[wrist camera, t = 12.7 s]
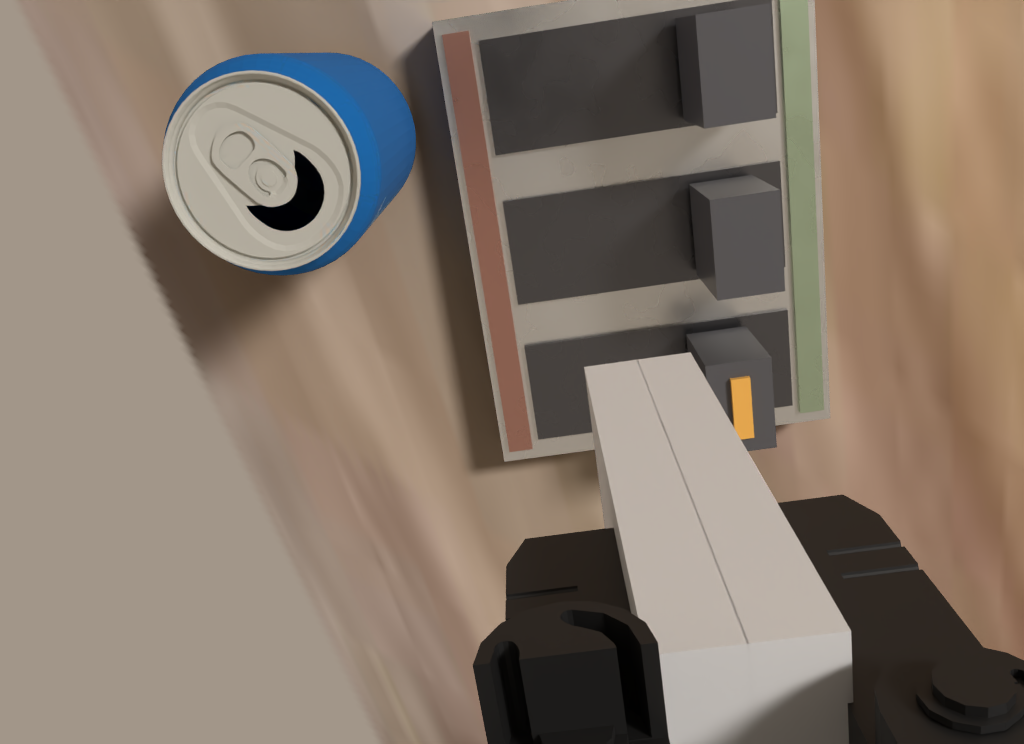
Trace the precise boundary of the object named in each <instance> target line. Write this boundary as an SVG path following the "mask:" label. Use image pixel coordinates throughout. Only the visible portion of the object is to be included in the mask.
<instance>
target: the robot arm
mask: <svg viewBox="0 0 1024 744" xmlns="http://www.w3.org/2000/svg"><path fill="white" fill-rule="evenodd" d="M584 370H585V378H586V385H587V393H588V401H589V409H590V416H591V424H592V432H593V440H594V447H595V455H596V463H597V471H598V478H599V486H600V494H601V502H602V509H603V517H604V525H605V529H599V530H591V531H583V532H575V533H568V534H560V535H552V536H544V537H537V538H529V539H525V540H524V542H523V543H522V544H521V546H520V547H519V549H518V550H517V551H516V553H515V554H514V556H513V557H512V559H511V560H510V561H509V563H508V564H507V566H506V599H507V600H506V621H505V622H503V623H501V624H500V625H499V626H498V627H497V628H496V629H495V630H494V631H493V632H492V633H491V634H490V635H489V636H488V637H487V638H486V639H485V640H484V641H483V642H482V643H481V644H480V647H479V650H478V653H477V655H476V658H475V661H474V664H473V669H474V674H475V679H476V684H477V690H478V695H479V700H480V705H481V710H482V716H483V721H484V726H485V731H486V736H487V742H488V744H1024V660H1021V659H1019V658H1017V657H1015V656H1013V655H1010V654H1008V653H1005V652H1001V651H996V650H992V649H987V648H983V647H982V645H981V644H980V643H979V641H978V640H977V639H976V638H975V636H974V635H973V634H972V632H971V631H970V630H969V629H968V627H967V626H966V625H965V623H964V622H963V621H962V620H961V618H960V617H959V616H958V614H957V613H956V612H955V611H954V609H953V608H952V607H951V606H950V604H949V603H948V602H947V600H946V599H945V598H944V597H943V595H942V594H941V593H940V591H939V590H938V589H937V588H936V586H935V585H934V584H933V582H932V581H931V580H930V579H929V577H928V576H927V575H926V574H925V572H924V571H923V570H919V568H918V563H917V562H916V561H915V559H914V558H913V557H912V556H911V554H910V553H909V552H908V550H907V549H906V548H905V547H901V543H900V540H899V539H898V538H897V536H896V535H895V534H894V533H893V531H892V530H891V529H890V527H889V526H888V525H887V524H886V522H885V521H884V520H883V518H882V517H881V516H880V515H879V514H877V513H876V512H874V511H872V510H870V509H868V508H866V507H865V506H863V505H861V504H859V503H857V502H855V501H854V500H852V499H850V498H848V497H846V496H844V495H836V496H829V497H821V498H813V499H805V500H798V501H790V502H782V503H777V501H776V500H775V498H774V496H773V495H772V493H771V491H770V489H769V488H768V486H767V484H766V482H765V481H764V479H763V477H762V475H761V474H760V472H759V470H758V468H757V467H756V465H755V463H754V462H753V460H752V458H751V456H750V455H749V453H748V451H747V449H746V448H745V446H744V444H743V442H742V441H741V439H740V437H739V436H738V434H737V432H736V430H735V429H734V427H733V425H732V423H731V422H730V420H729V418H728V416H727V415H726V413H725V411H724V409H723V408H722V406H721V404H720V403H719V401H718V399H717V397H716V396H715V394H714V392H713V390H712V389H711V387H710V385H709V383H708V382H707V380H706V378H705V377H704V375H703V373H702V371H701V370H700V368H699V366H698V364H697V363H696V361H695V359H694V357H693V356H692V354H691V352H689V353H682V354H674V355H667V356H660V357H653V358H645V359H638V360H631V361H624V362H616V363H609V364H602V365H595V366H587V367H584Z"/></svg>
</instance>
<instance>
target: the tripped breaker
mask: <svg viewBox="0 0 1024 744" xmlns="http://www.w3.org/2000/svg"><path fill="white" fill-rule="evenodd" d="M686 337H687V348H688V353H689V352H691V354H692V356H693V357H694V359H695V361H696V363H697V364H698V366H699V368H700V370H701V371H702V373H703V375H704V377H705V378H706V380H707V382H708V383H709V385H710V387H711V389H712V390H713V392H714V394H715V396H716V397H717V399H718V401H719V403H720V404H721V406H722V408H723V409H724V411H725V413H726V415H727V416H728V418H729V420H730V422H731V423H732V425H733V427H734V429H735V430H736V432H737V434H738V436H739V437H740V439H741V441H742V442H743V444H744V446H745V448H746V449H747V451H752V450H760V449H767V448H775V447H777V444H776V427H775V409H774V392H773V375H772V358H771V356H770V355H769V354H768V352H767V351H766V350H765V349H764V348H763V346H762V345H761V344H760V343H759V342H758V340H757V339H756V338H755V337H754V336H753V334H752V333H751V332H750V331H749V330H748V328H747V327H746V326H743V327H736V328H728V329H721V330H714V331H707V332H700V333H692V334H686Z"/></svg>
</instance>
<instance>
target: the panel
mask: <svg viewBox="0 0 1024 744" xmlns="http://www.w3.org/2000/svg"><path fill="white" fill-rule="evenodd" d="M767 3H770V8H771V27H772V46H773V66H774V85H775V104H776V118H772V119H766V120H759V121H752V122H746V123H739V124H732V125H726V126H719V127H712V128H706V129H704V128H701V127H699V126H697V125H694V124H692V123H690V122H687V121H685V120H684V117H683V105H682V93H681V81H680V70H679V58H678V46H677V34H676V22H675V18H681V17H686V16H691V15H697V14H703V13H710V12H716V11H722V10H729V9H735V8H742V7H748V6H754V5H761V4H767ZM432 25H433V31H434V37H435V43H436V50H437V56H438V62H439V68H440V74H441V80H442V86H443V92H444V98H445V104H446V110H447V116H448V122H449V128H450V134H451V141H452V147H453V153H454V159H455V165H456V171H457V177H458V183H459V189H460V195H461V201H462V207H463V213H464V219H465V225H466V232H467V238H468V244H469V250H470V256H471V262H472V268H473V274H474V280H475V286H476V292H477V298H478V304H479V310H480V316H481V323H482V329H483V335H484V341H485V347H486V353H487V359H488V365H489V371H490V377H491V383H492V389H493V395H494V401H495V407H496V414H497V420H498V426H499V432H500V438H501V444H502V450H503V456H504V462H506V461H513V460H521V459H528V458H536V457H543V456H551V455H558V454H566V453H573V452H581V451H588V450H595V447H594V440H593V432H592V424H591V416H590V409H589V401H588V393H587V385H586V378H585V370H584V367H587V366H595V365H602V364H609V363H616V362H624V361H631V360H638V359H645V358H653V357H660V356H667V355H674V354H682V353H688V348H687V337H686V334H692V333H700V332H707V331H714V330H721V329H728V328H736V327H743V326H746V327H747V328H748V330H749V331H750V332H751V333H752V334H753V336H754V337H755V338H756V339H757V340H758V342H759V343H760V344H761V345H762V346H763V348H764V349H765V350H766V351H767V352H768V354H769V355H770V356H771V358H772V375H773V392H774V409H775V426H776V425H783V424H791V423H798V422H806V421H813V420H821V419H828V418H830V399H829V373H828V346H827V319H826V293H825V266H824V239H823V213H822V186H821V159H820V133H819V106H818V79H817V53H816V26H815V0H567V1H561V2H554V3H548V4H542V5H536V6H529V7H523V8H517V9H510V10H504V11H498V12H491V13H485V14H479V15H472V16H466V17H460V18H454V19H447V20H441V21H435V22H432ZM747 175H753V176H755V177H757V178H759V179H761V180H763V181H764V182H766V183H768V184H770V185H772V186H774V187H776V188H778V189H779V190H780V200H781V219H782V238H783V257H784V276H785V291H783V292H776V293H769V294H762V295H755V296H748V297H740V298H733V299H726V300H719V301H717V299H716V298H715V297H714V296H713V294H712V293H711V292H710V291H709V290H708V288H707V287H706V286H705V285H704V283H703V282H702V281H701V280H700V278H699V277H698V276H697V272H696V260H695V248H694V236H693V224H692V212H691V201H690V189H689V184H692V183H699V182H706V181H713V180H720V179H726V178H733V177H740V176H747Z"/></svg>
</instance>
